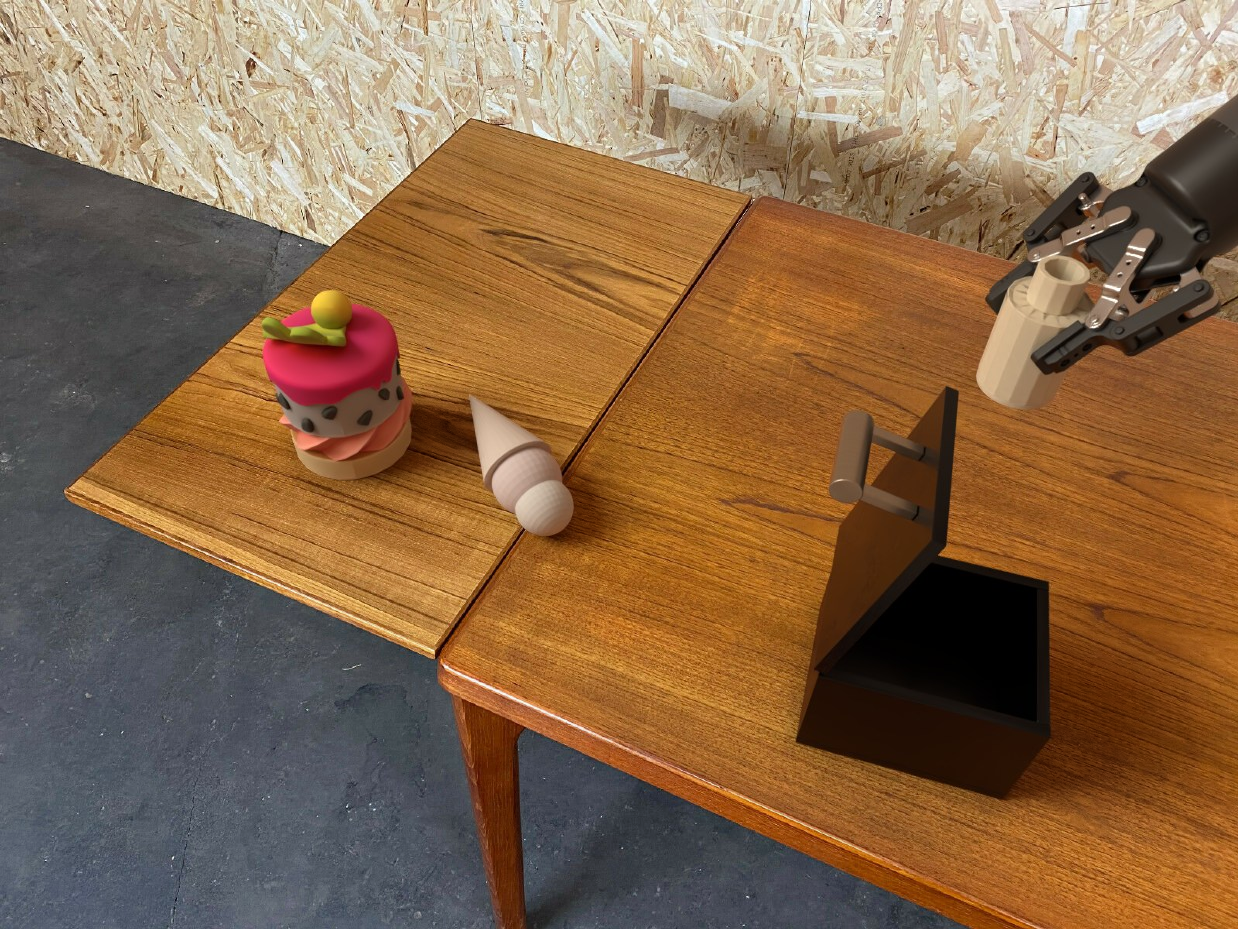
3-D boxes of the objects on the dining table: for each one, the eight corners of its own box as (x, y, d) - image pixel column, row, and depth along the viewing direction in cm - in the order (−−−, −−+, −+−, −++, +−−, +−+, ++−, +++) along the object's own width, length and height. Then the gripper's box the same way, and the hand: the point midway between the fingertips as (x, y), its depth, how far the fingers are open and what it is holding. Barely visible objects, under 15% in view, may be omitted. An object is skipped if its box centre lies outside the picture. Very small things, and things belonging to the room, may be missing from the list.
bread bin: (1006, 651, 69) (1049, 581, 63) (1002, 800, 62) (1051, 737, 55) (820, 605, 72) (843, 532, 65) (795, 742, 64) (817, 676, 58)
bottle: (1055, 366, 71) (1107, 253, 63) (1056, 417, 67) (1111, 303, 60) (977, 351, 72) (1020, 238, 64) (974, 400, 68) (1019, 286, 61)
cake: (313, 391, 86) (272, 251, 75) (428, 400, 86) (404, 261, 75) (274, 477, 79) (222, 337, 68) (399, 488, 79) (368, 349, 68)
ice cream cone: (474, 422, 84) (560, 553, 77) (422, 415, 79) (509, 555, 72) (514, 371, 81) (606, 503, 75) (462, 361, 76) (557, 501, 70)
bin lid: (959, 390, 54) (867, 353, 54) (946, 546, 46) (840, 503, 46) (849, 530, 65) (773, 499, 65) (825, 674, 57) (739, 639, 57)
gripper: (1161, 70, 61) (941, 249, 68) (1320, 188, 52) (1046, 383, 59) (1195, 138, 66) (987, 299, 73) (1347, 258, 56) (1091, 431, 63)
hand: (1014, 336), depth 66 cm, fingers closed on bottle, 5 cm apart
